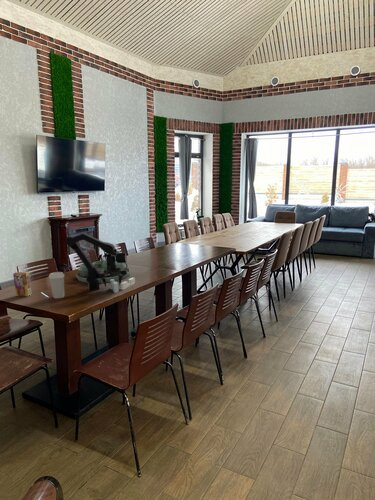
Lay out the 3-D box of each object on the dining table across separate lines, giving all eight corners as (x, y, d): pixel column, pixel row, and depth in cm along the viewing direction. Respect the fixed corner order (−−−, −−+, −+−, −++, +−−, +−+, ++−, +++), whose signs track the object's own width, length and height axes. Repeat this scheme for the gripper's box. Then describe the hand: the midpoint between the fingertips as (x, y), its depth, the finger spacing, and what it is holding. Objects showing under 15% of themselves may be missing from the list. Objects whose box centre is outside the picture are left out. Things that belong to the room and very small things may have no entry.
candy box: (32, 294, 237) (29, 271, 235) (28, 296, 233) (25, 273, 230) (19, 294, 239) (16, 271, 236) (15, 296, 234) (12, 273, 232)
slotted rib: (123, 289, 241) (123, 283, 240) (120, 289, 241) (120, 283, 241) (135, 283, 255) (134, 277, 255) (132, 283, 256) (132, 277, 255)
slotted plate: (118, 292, 235) (118, 283, 234) (114, 292, 234) (114, 283, 233) (114, 287, 246) (113, 279, 245) (110, 288, 245) (109, 279, 244)
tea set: (82, 272, 296) (80, 252, 293) (132, 269, 300) (130, 249, 297) (71, 285, 257) (69, 262, 254) (128, 281, 261) (127, 259, 258)
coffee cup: (68, 294, 235) (66, 271, 233) (64, 298, 226) (61, 275, 223) (53, 294, 235) (51, 272, 232) (48, 299, 226) (45, 275, 223)
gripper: (99, 267, 230) (101, 291, 233) (128, 263, 237) (129, 287, 240) (95, 264, 240) (97, 287, 243) (123, 260, 247) (125, 283, 250)
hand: (112, 286), depth 244 cm, fingers open, 9 cm apart
